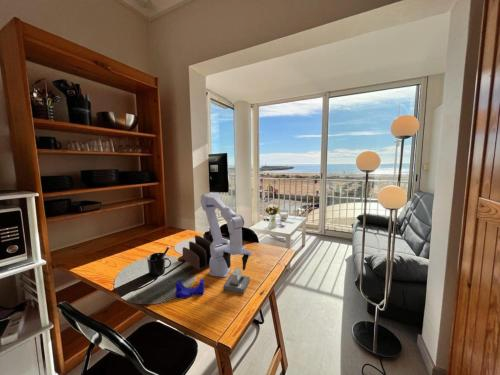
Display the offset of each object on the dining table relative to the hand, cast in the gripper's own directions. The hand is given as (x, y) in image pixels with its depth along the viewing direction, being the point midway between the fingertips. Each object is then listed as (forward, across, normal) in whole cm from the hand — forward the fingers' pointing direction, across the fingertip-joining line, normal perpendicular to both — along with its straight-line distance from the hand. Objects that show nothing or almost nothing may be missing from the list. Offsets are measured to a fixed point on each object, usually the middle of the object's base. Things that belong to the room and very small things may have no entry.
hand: (236, 268), depth 100 cm
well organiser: (+9, 0, 0) cm, 9 cm away
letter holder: (+10, -31, +17) cm, 36 cm away
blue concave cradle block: (+10, -19, -11) cm, 24 cm away
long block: (+8, 0, 0) cm, 9 cm away
